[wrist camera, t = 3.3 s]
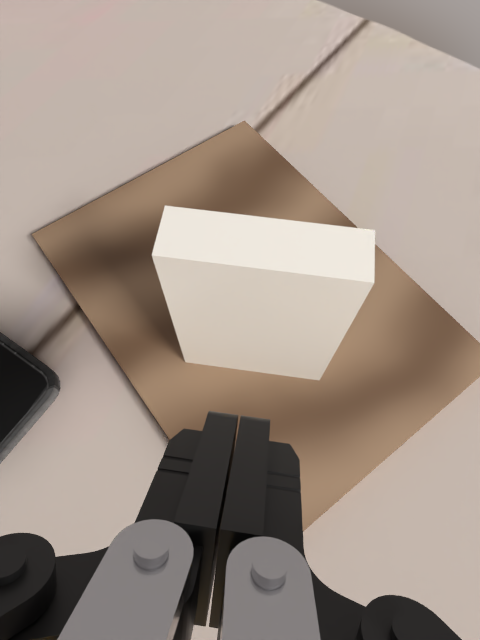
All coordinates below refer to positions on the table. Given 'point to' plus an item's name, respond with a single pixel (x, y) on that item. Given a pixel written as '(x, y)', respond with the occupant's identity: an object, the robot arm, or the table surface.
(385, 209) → the table surface
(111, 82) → the table surface
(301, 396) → the board
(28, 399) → the phone
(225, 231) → the block
